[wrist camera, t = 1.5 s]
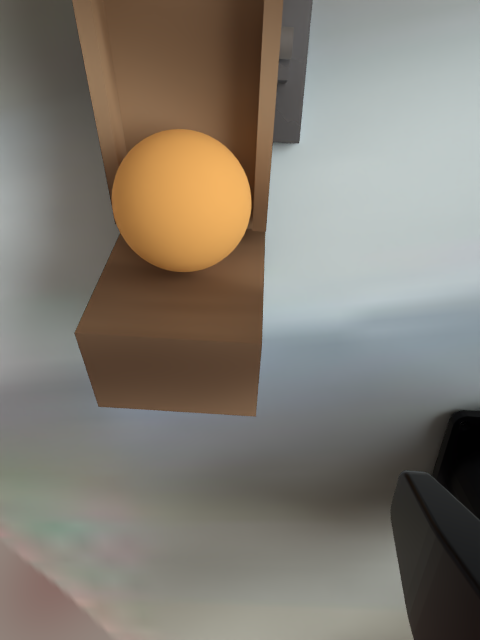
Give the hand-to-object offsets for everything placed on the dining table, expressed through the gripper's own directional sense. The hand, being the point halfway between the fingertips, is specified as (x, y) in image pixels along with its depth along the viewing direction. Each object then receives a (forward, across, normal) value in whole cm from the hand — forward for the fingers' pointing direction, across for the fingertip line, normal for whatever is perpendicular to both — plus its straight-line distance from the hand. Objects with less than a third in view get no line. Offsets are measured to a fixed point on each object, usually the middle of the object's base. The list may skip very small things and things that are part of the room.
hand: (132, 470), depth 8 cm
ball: (+6, 0, -3) cm, 7 cm away
